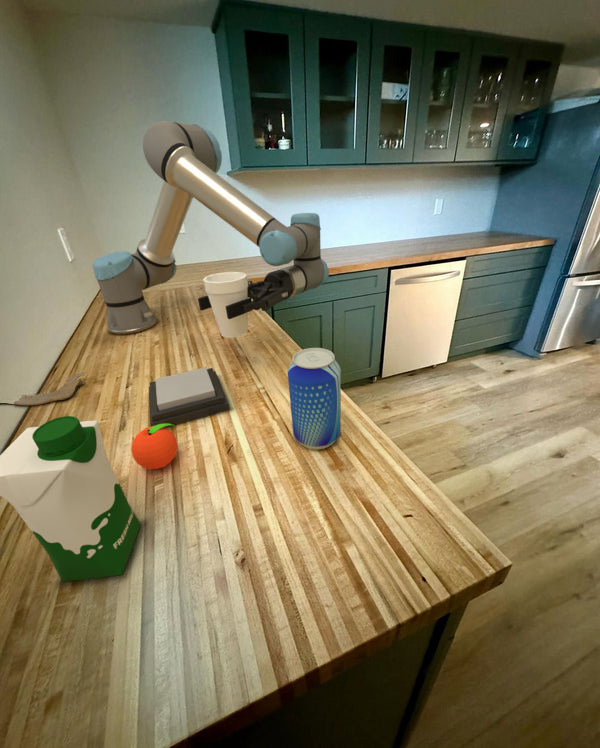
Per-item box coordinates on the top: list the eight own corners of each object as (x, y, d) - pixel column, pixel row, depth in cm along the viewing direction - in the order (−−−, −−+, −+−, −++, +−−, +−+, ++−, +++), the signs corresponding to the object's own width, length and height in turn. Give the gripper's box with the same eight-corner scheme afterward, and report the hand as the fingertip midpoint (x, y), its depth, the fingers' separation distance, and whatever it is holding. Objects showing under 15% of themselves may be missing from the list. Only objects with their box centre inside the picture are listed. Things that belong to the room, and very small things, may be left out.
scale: (150, 393, 76) (147, 381, 75) (216, 377, 81) (214, 366, 80) (152, 431, 64) (148, 418, 63) (229, 409, 69) (227, 397, 67)
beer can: (345, 425, 62) (345, 347, 54) (334, 457, 55) (333, 373, 47) (302, 418, 65) (296, 343, 57) (286, 447, 58) (278, 366, 50)
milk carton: (127, 582, 40) (56, 456, 30) (49, 591, 39) (-51, 467, 29) (150, 517, 47) (99, 400, 37) (84, 525, 47) (15, 408, 37)
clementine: (172, 440, 62) (162, 408, 58) (195, 455, 58) (185, 423, 54) (130, 466, 56) (116, 433, 53) (152, 485, 52) (138, 451, 49)
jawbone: (87, 396, 78) (84, 389, 76) (-22, 428, 70) (-28, 421, 69) (87, 377, 84) (84, 370, 83) (-13, 404, 77) (-18, 397, 75)
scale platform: (157, 385, 74) (155, 378, 73) (207, 373, 78) (205, 367, 77) (159, 412, 65) (157, 404, 64) (216, 397, 69) (214, 390, 68)
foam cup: (246, 341, 75) (237, 282, 68) (207, 340, 76) (195, 283, 70) (258, 325, 83) (252, 271, 76) (223, 324, 84) (214, 271, 78)
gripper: (317, 305, 83) (248, 335, 68) (256, 291, 96) (188, 315, 81) (316, 274, 79) (243, 300, 65) (253, 264, 92) (181, 284, 78)
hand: (213, 308), depth 73 cm, fingers closed on foam cup, 9 cm apart
